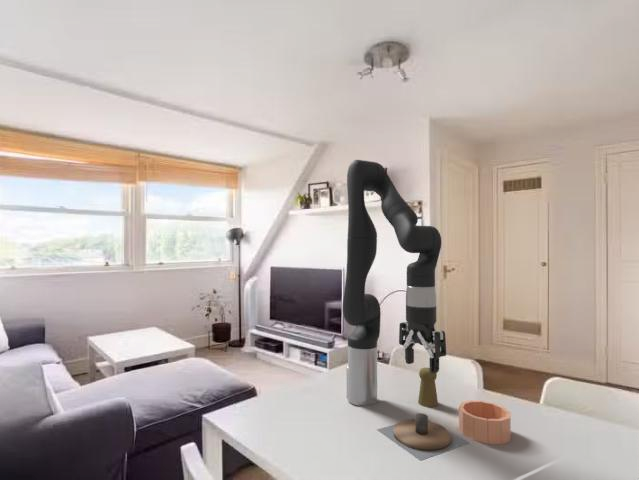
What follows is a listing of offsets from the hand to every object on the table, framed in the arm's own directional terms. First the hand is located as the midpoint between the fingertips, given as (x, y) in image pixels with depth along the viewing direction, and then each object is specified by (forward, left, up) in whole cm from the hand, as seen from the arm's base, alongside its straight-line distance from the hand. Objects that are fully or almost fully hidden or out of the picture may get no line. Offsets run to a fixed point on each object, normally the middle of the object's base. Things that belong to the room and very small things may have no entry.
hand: (421, 367), depth 94 cm
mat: (0, 0, -18) cm, 18 cm away
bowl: (+6, +16, -18) cm, 24 cm away
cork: (-14, +16, -18) cm, 28 cm away
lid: (0, 0, -17) cm, 17 cm away
